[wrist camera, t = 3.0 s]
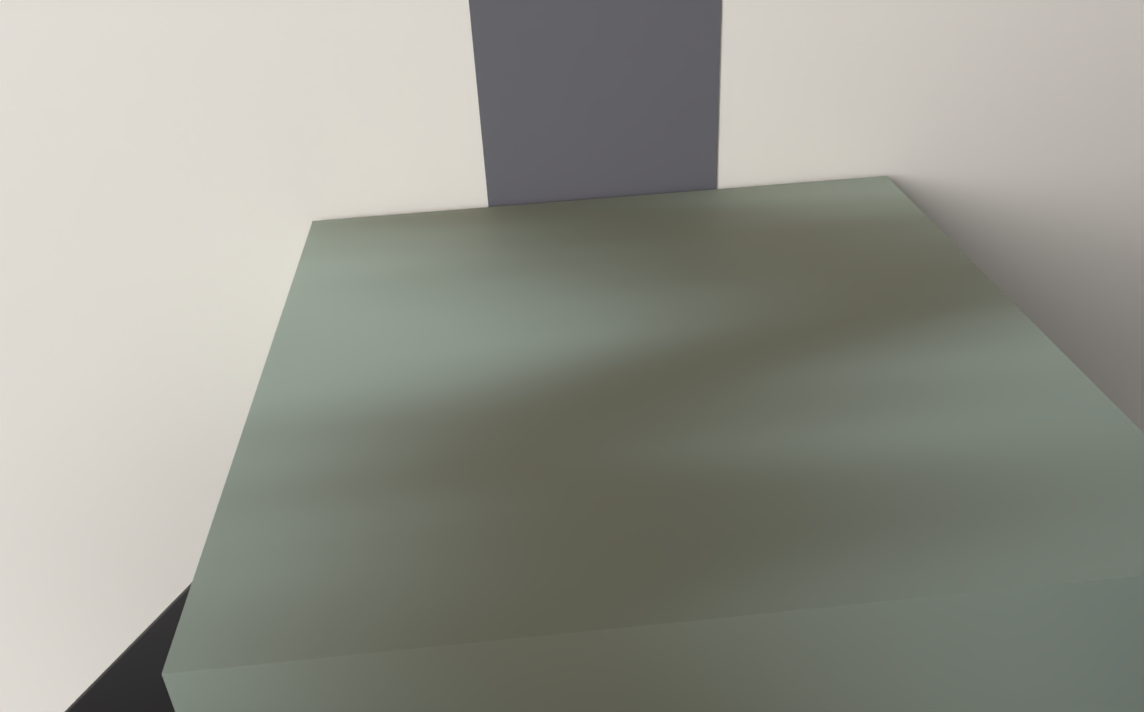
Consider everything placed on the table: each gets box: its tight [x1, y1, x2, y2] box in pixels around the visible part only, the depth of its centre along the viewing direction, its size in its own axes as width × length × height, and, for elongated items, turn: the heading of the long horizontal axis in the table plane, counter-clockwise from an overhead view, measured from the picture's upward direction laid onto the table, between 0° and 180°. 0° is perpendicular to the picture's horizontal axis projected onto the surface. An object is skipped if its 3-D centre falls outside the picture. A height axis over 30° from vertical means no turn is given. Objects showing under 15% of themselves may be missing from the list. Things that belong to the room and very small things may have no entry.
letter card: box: [0, 0, 1144, 712], centre depth 10 cm, size 14×14×1 cm
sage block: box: [162, 176, 1144, 712], centre depth 8 cm, size 5×5×5 cm
